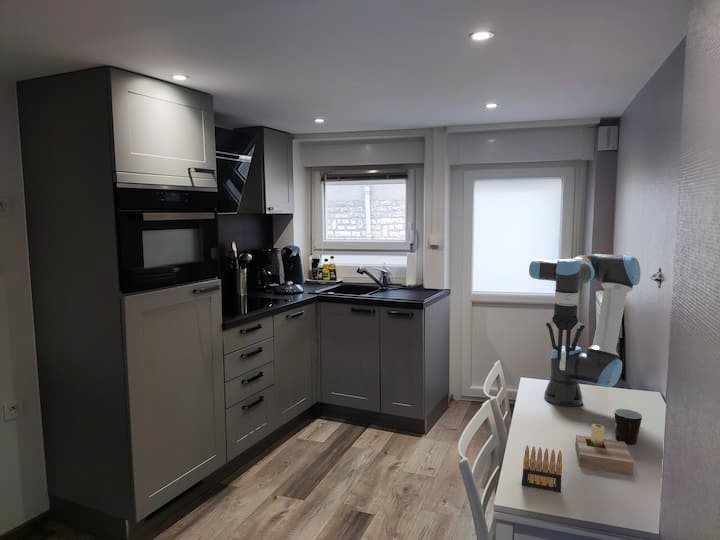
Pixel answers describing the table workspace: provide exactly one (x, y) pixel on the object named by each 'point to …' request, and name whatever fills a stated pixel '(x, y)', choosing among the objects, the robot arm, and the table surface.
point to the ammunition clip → (542, 470)
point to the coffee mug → (627, 425)
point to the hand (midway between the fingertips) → (562, 368)
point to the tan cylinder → (597, 435)
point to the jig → (604, 455)
